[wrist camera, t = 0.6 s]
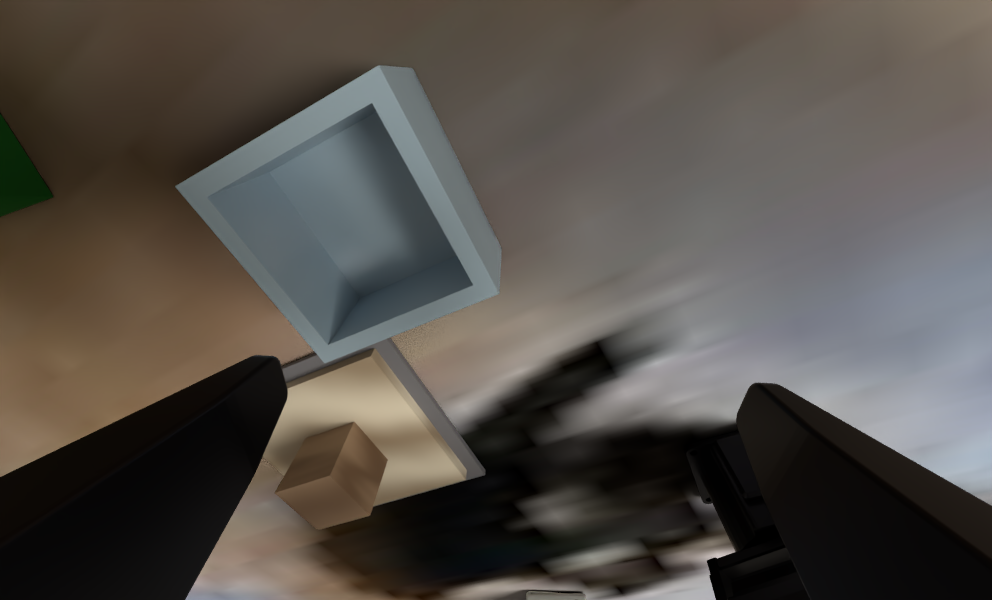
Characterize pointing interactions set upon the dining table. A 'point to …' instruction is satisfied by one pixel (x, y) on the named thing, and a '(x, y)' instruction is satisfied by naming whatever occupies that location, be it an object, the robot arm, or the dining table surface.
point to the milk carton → (17, 175)
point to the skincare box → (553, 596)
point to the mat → (414, 389)
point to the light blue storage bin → (354, 216)
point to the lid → (355, 443)
